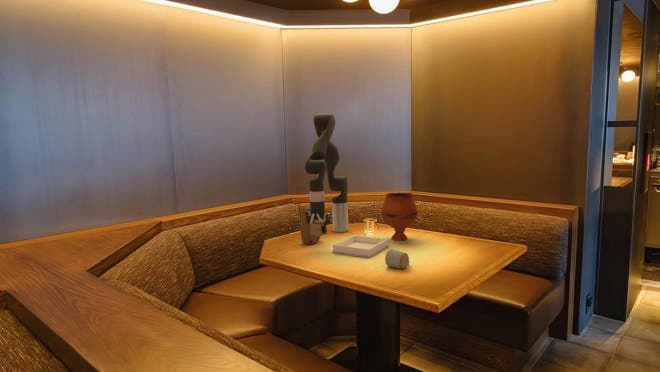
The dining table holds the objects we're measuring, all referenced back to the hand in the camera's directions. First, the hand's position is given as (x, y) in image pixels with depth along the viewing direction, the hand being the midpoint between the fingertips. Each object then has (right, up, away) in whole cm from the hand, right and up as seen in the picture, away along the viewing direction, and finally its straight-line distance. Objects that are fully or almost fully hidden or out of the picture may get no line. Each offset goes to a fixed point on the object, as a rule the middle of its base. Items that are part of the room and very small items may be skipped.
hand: (318, 232), depth 214 cm
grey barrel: (+36, -12, -29) cm, 48 cm away
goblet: (+44, -6, +18) cm, 48 cm away
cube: (0, -1, 0) cm, 1 cm away
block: (-4, -7, +16) cm, 19 cm away
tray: (+22, -9, -1) cm, 23 cm away
